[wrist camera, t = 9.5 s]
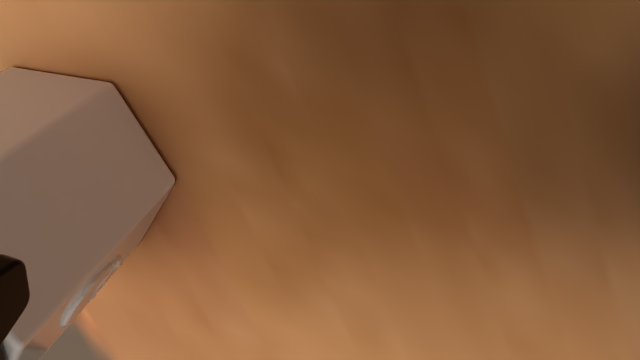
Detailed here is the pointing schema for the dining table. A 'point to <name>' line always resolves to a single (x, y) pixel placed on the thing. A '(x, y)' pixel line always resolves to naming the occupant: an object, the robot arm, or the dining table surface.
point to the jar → (70, 195)
